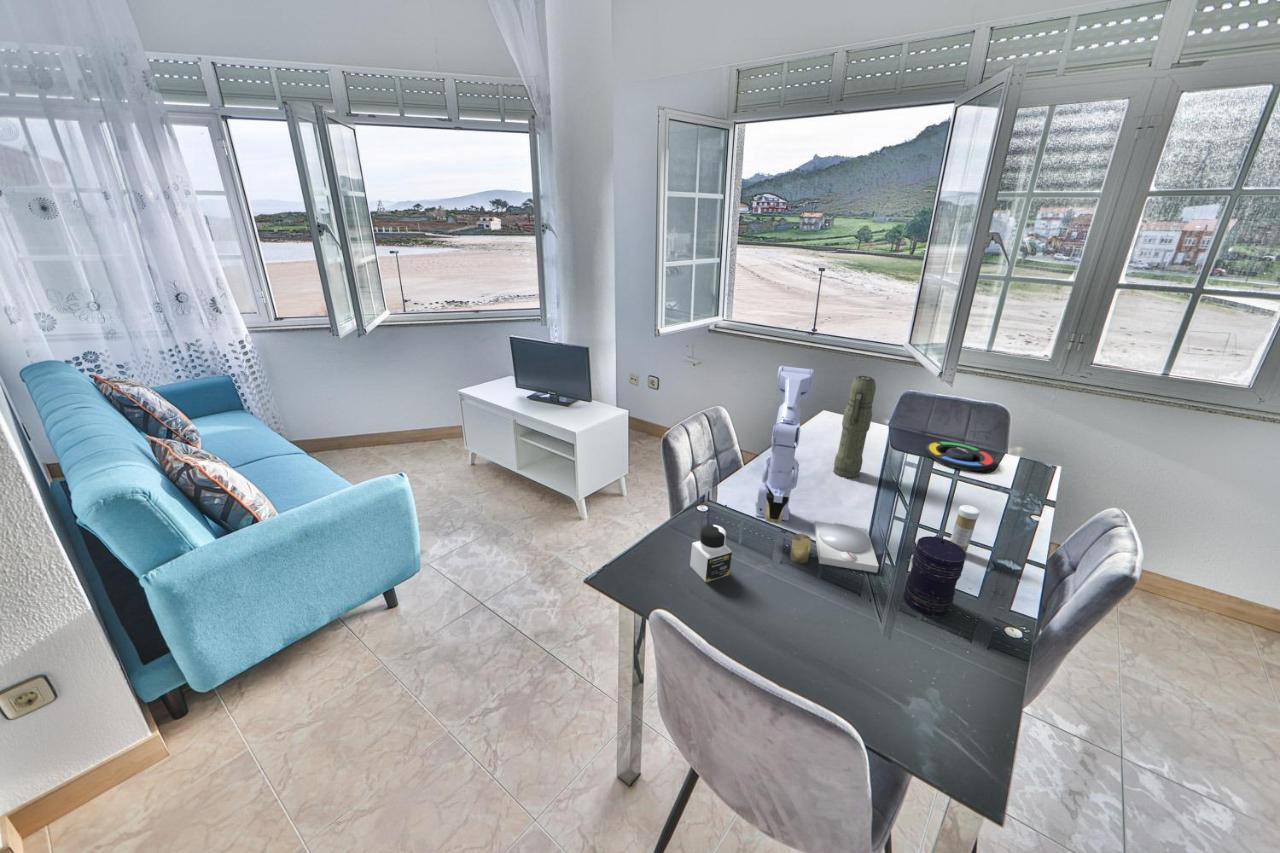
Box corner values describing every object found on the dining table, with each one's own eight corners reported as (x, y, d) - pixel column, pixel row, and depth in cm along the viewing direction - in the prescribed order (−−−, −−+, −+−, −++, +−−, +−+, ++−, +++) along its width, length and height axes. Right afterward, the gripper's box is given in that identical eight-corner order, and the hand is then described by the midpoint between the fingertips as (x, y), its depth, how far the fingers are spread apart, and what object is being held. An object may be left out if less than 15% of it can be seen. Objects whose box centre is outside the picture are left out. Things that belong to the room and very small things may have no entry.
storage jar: (948, 624, 115) (966, 567, 109) (899, 606, 120) (914, 551, 114) (950, 599, 123) (967, 545, 117) (905, 583, 128) (919, 531, 122)
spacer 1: (764, 521, 139) (767, 501, 137) (764, 513, 143) (767, 493, 141) (781, 524, 138) (784, 504, 136) (781, 515, 142) (784, 496, 140)
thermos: (861, 469, 188) (881, 375, 175) (857, 482, 178) (878, 384, 166) (835, 464, 192) (853, 371, 179) (830, 476, 182) (848, 379, 169)
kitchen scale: (819, 563, 134) (820, 554, 133) (813, 527, 150) (815, 518, 149) (877, 572, 131) (879, 563, 130) (865, 534, 148) (867, 526, 147)
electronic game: (911, 451, 207) (913, 440, 205) (955, 446, 214) (958, 435, 212) (959, 476, 186) (963, 464, 185) (1007, 470, 193) (1011, 458, 192)
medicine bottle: (705, 583, 125) (709, 540, 120) (689, 566, 131) (693, 525, 126) (729, 575, 128) (734, 533, 124) (713, 559, 134) (717, 518, 130)
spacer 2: (790, 561, 134) (793, 541, 132) (789, 551, 138) (792, 532, 136) (808, 564, 133) (812, 544, 131) (807, 554, 138) (810, 535, 135)
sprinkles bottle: (954, 545, 144) (967, 503, 139) (970, 554, 140) (983, 511, 135) (943, 549, 142) (955, 506, 137) (959, 558, 138) (972, 514, 133)
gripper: (798, 482, 128) (790, 530, 133) (795, 458, 141) (788, 502, 146) (768, 478, 129) (761, 525, 134) (769, 455, 142) (763, 499, 147)
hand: (774, 513), depth 140 cm, fingers closed on spacer 1, 4 cm apart
